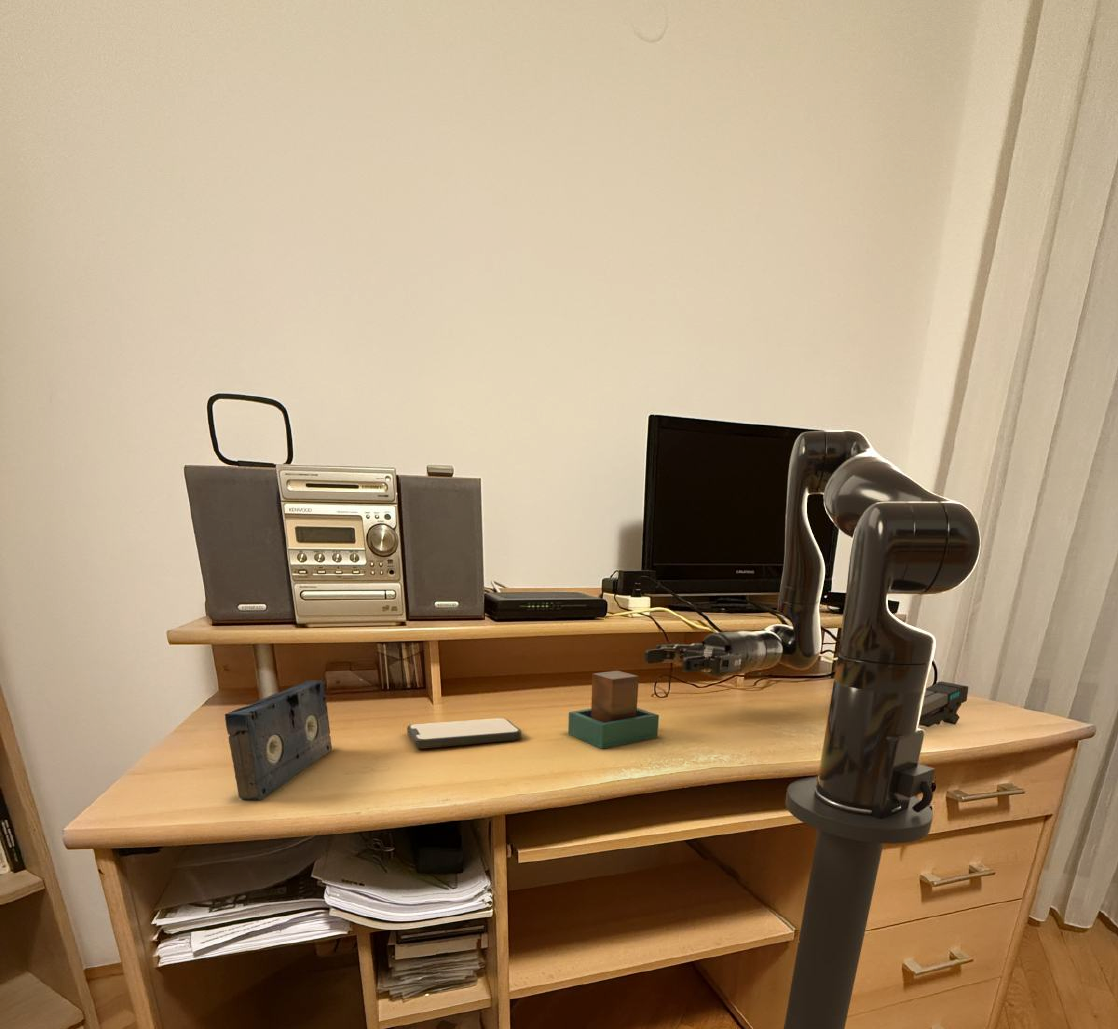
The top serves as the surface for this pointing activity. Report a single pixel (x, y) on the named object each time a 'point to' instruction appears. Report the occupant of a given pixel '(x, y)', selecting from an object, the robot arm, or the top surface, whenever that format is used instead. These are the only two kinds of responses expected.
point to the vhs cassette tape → (278, 738)
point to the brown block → (614, 696)
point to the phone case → (462, 732)
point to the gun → (942, 703)
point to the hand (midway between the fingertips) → (664, 660)
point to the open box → (613, 728)
